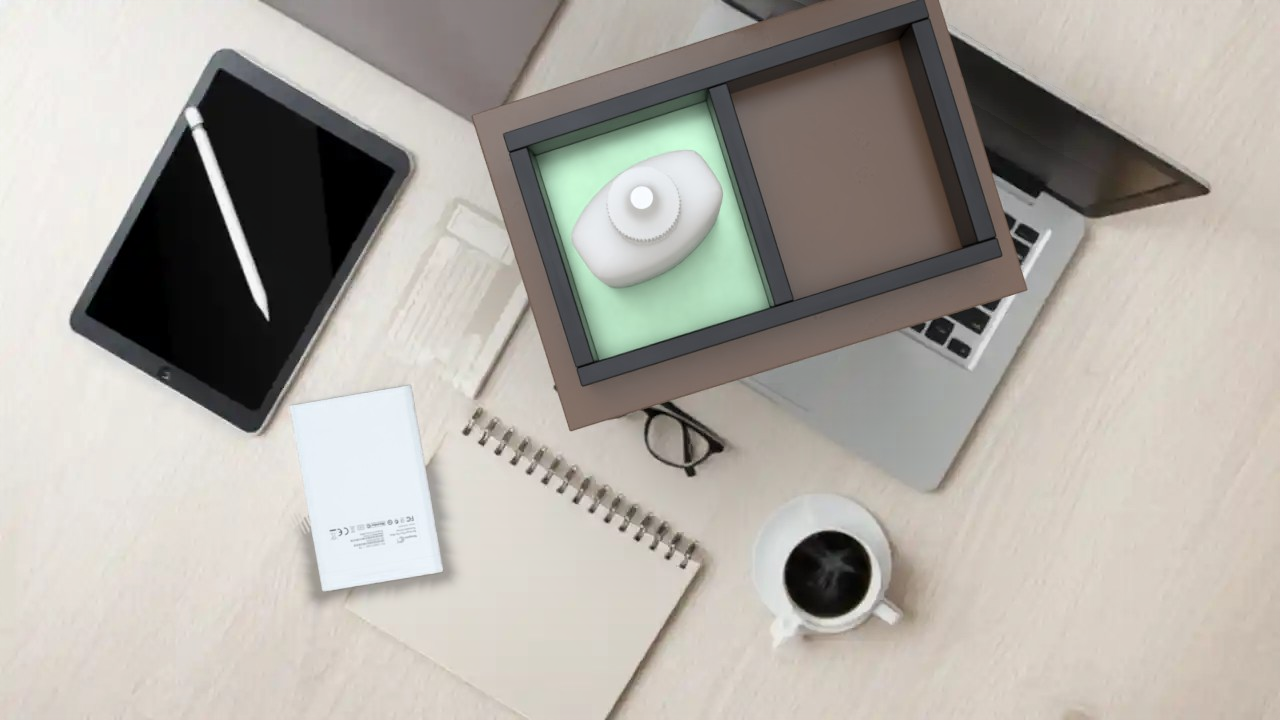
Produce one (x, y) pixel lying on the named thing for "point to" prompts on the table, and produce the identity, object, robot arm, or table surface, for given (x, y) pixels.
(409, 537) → the hard drive
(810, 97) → the brown compartment tray
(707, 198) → the eye dropper bottle
